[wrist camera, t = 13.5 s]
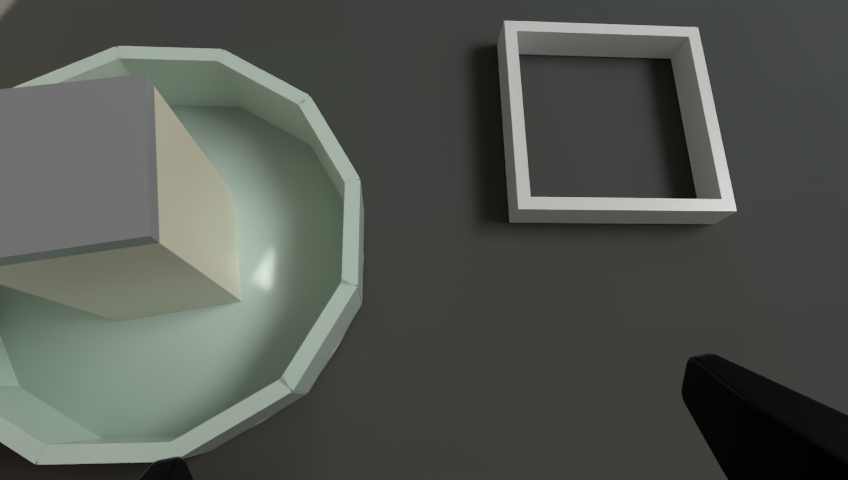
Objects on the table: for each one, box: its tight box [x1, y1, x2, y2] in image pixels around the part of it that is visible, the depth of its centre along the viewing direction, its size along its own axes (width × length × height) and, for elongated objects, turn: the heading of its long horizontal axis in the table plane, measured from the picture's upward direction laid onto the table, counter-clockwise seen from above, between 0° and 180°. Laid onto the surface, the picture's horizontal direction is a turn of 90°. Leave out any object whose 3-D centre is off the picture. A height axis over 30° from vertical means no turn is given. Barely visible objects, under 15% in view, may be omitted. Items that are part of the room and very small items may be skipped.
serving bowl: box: [0, 46, 364, 465], centre depth 21 cm, size 16×16×4 cm
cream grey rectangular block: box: [0, 74, 242, 321], centre depth 18 cm, size 5×5×9 cm
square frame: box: [497, 21, 737, 224], centre depth 26 cm, size 10×10×2 cm
